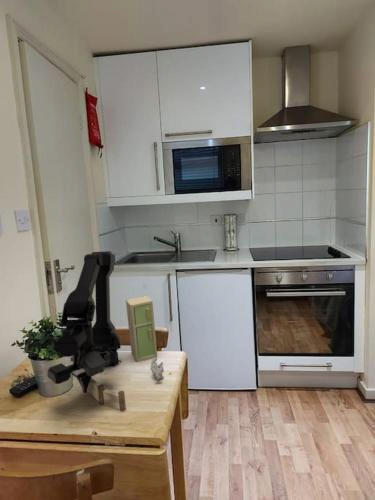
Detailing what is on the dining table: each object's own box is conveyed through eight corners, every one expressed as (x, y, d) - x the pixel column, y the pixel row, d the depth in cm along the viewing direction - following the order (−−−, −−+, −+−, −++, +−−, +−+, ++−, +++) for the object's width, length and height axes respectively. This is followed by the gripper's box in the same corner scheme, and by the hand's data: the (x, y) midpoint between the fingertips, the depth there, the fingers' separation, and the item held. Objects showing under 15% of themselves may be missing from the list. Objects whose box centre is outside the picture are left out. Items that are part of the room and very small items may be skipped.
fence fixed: (98, 406, 98) (96, 387, 97) (102, 402, 100) (100, 383, 98) (123, 414, 94) (121, 395, 93) (127, 410, 95) (125, 391, 94)
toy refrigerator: (136, 363, 120) (130, 305, 116) (130, 354, 127) (125, 299, 123) (158, 357, 123) (153, 301, 119) (151, 349, 130) (147, 295, 126)
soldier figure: (170, 368, 118) (176, 375, 106) (161, 380, 117) (166, 388, 105) (152, 353, 118) (156, 359, 106) (142, 365, 116) (146, 372, 105)
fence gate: (84, 389, 105) (82, 374, 104) (89, 387, 106) (87, 372, 105) (98, 401, 99) (96, 385, 98) (103, 399, 100) (101, 383, 99)
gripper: (63, 360, 86) (67, 418, 89) (126, 339, 99) (128, 390, 102) (44, 347, 94) (48, 401, 97) (105, 329, 107) (107, 376, 110)
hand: (85, 392), depth 101 cm, fingers closed
